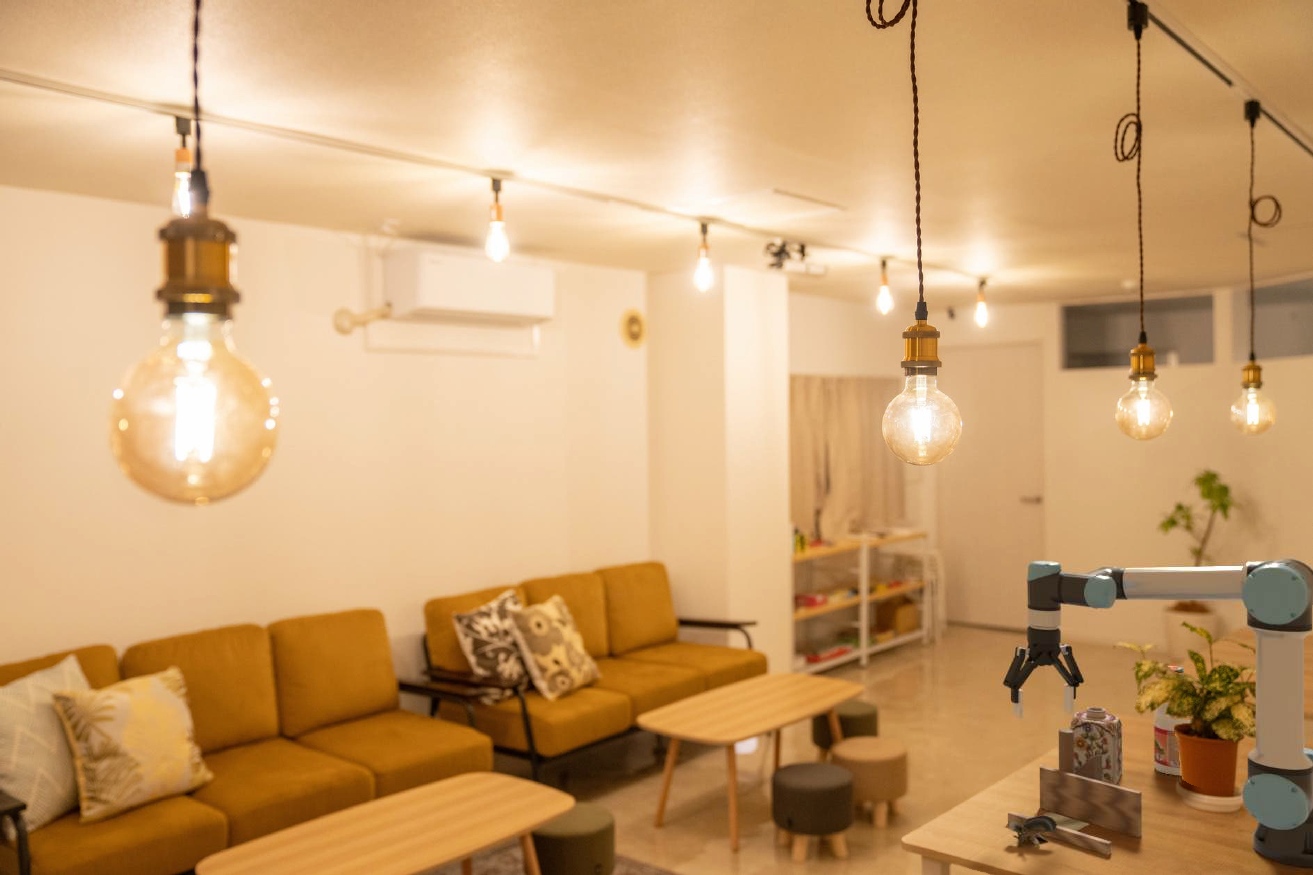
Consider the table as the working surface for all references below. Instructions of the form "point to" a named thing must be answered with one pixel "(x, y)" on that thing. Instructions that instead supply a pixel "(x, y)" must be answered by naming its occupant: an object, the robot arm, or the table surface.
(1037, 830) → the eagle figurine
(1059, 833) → the wall board
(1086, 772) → the wooden block
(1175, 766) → the fruit juice
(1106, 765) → the decorative jar
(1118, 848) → the table surface
